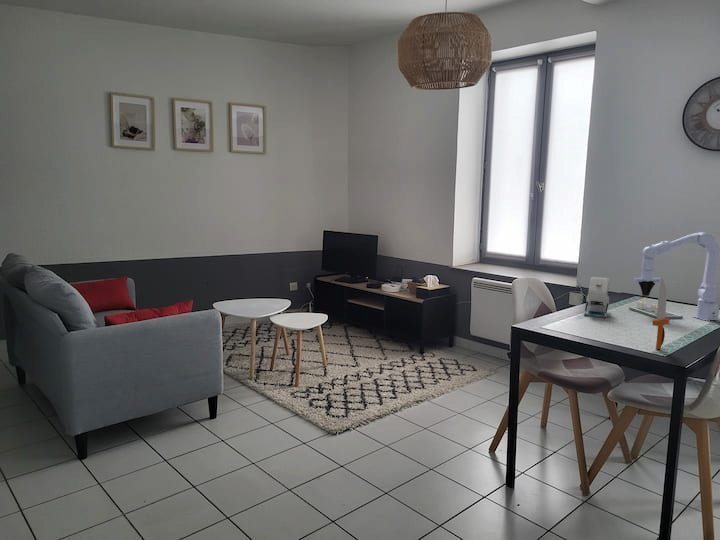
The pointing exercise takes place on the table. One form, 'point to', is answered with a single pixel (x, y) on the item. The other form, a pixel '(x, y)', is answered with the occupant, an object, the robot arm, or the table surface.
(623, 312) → the table surface
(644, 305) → the breaker
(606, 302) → the robotic device
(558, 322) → the table surface
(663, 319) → the knife
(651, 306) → the breaker
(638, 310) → the panel
